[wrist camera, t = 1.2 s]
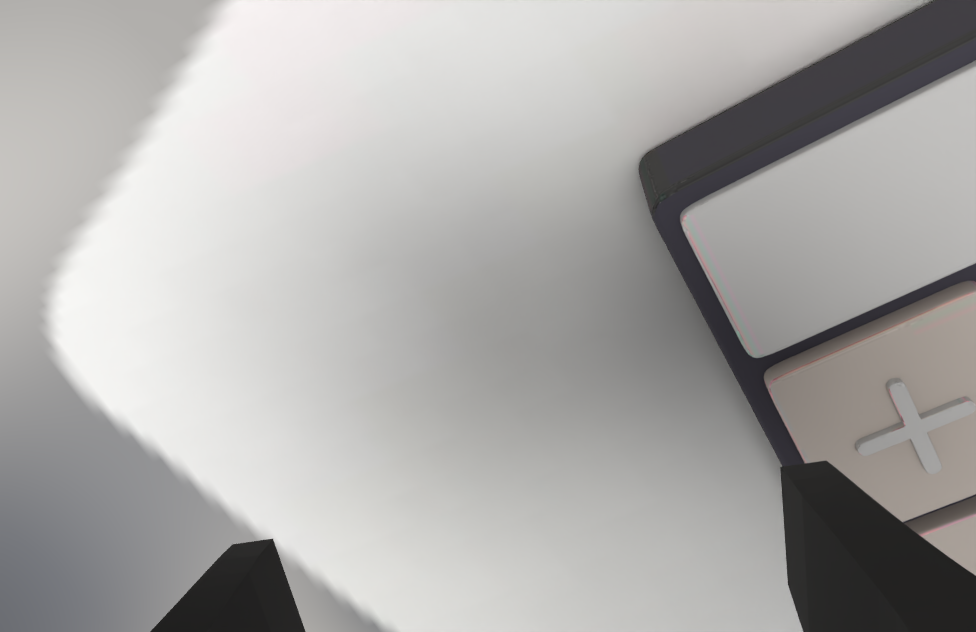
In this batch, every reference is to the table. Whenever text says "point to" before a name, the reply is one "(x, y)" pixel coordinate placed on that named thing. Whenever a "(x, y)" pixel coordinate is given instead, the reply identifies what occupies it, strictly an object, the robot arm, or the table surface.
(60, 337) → the table surface
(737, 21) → the table surface
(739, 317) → the button box
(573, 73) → the table surface
